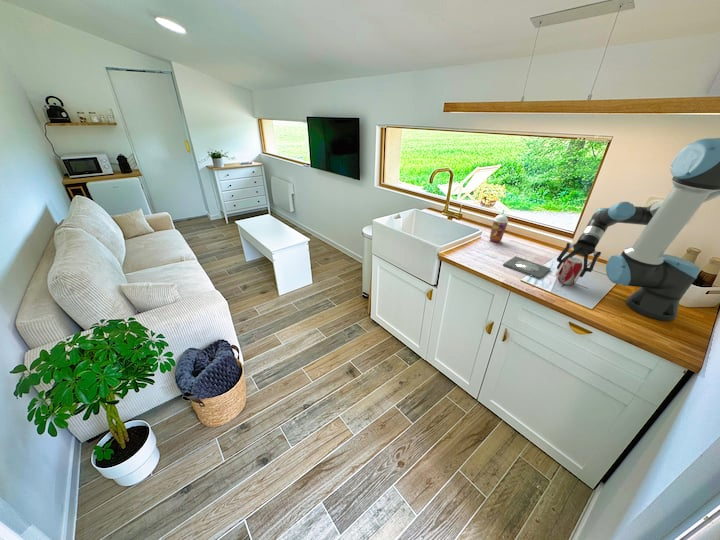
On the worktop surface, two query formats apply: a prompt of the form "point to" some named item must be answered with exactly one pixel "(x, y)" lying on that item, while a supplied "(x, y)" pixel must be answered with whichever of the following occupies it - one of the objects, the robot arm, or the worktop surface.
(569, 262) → the soda can
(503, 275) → the worktop surface
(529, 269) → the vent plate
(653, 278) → the robot arm
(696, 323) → the worktop surface
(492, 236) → the smoothie
